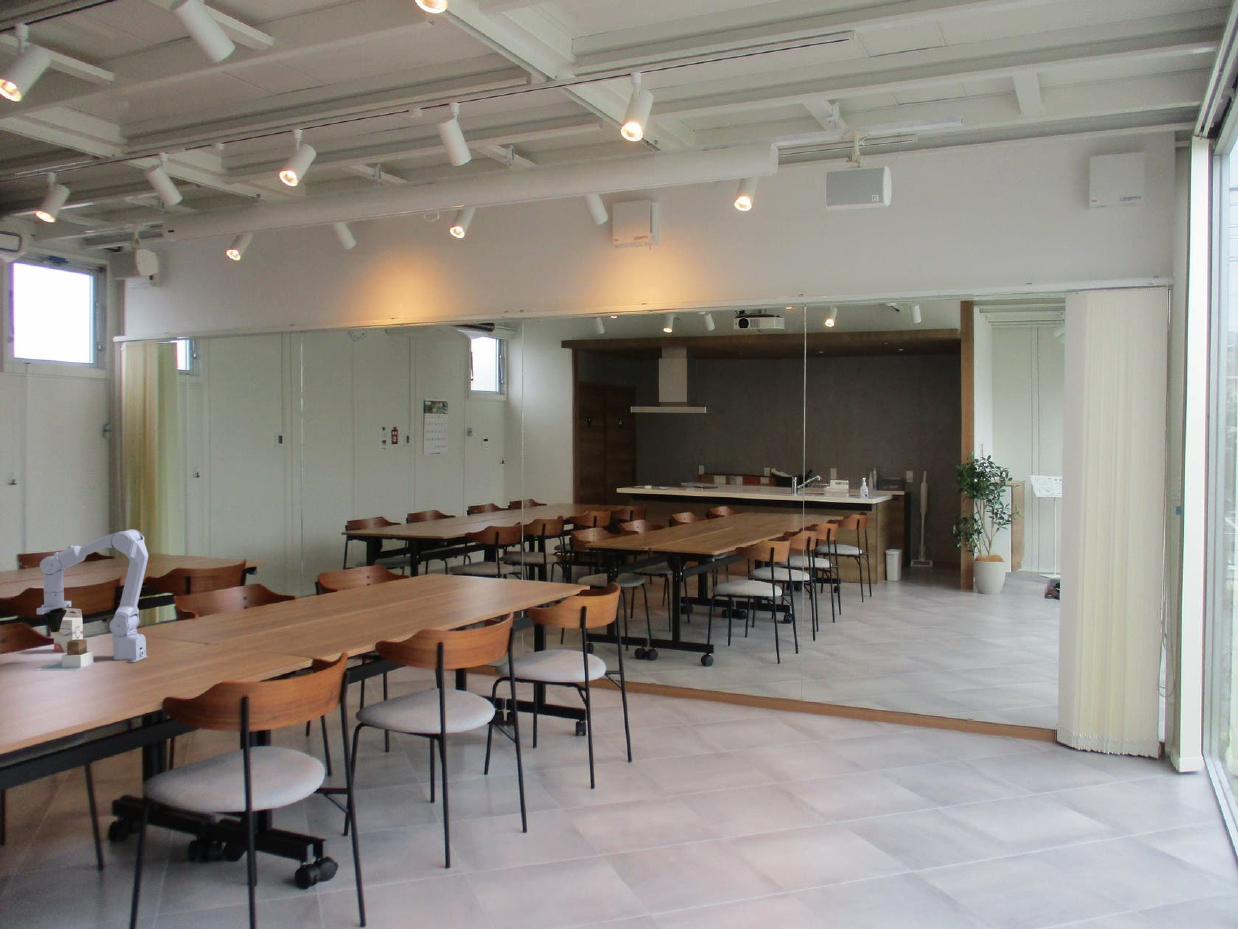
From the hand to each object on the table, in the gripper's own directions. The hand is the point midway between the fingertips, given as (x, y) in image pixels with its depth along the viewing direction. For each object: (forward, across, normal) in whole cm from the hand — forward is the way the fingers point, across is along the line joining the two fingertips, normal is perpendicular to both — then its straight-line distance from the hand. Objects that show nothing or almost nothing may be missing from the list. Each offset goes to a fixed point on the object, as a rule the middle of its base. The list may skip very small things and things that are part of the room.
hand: (55, 632), depth 314 cm
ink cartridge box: (+11, -18, -8) cm, 22 cm away
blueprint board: (+10, +9, +10) cm, 17 cm away
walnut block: (+6, +7, +12) cm, 16 cm away
